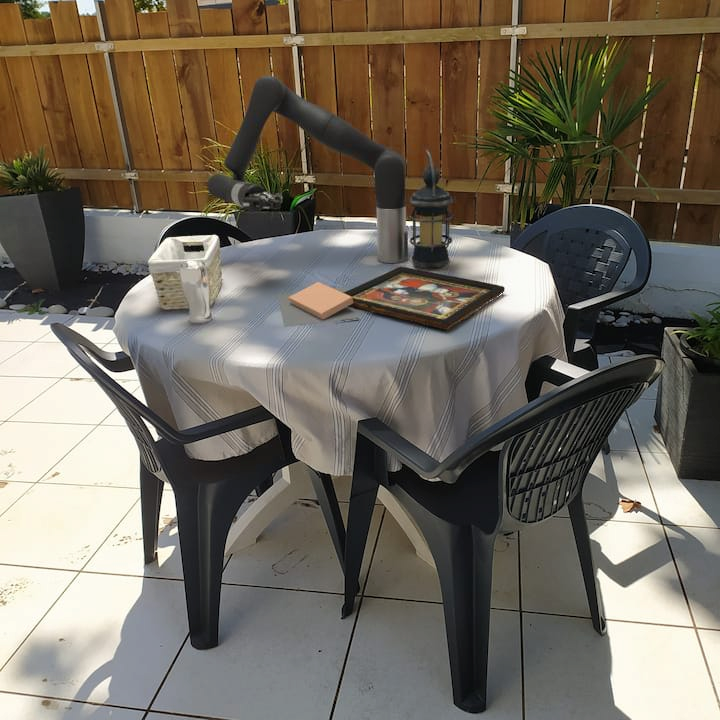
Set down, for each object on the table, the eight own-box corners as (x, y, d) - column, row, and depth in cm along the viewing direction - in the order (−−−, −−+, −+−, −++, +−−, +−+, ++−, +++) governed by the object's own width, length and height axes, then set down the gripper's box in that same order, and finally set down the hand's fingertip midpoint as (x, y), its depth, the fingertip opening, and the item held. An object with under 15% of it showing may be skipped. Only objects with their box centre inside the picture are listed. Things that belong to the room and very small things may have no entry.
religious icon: (509, 288, 183) (510, 279, 182) (460, 335, 156) (461, 324, 155) (389, 271, 201) (389, 262, 200) (327, 310, 174) (326, 300, 173)
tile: (288, 297, 177) (321, 313, 166) (318, 281, 182) (352, 296, 170) (290, 303, 178) (322, 320, 167) (319, 288, 183) (353, 303, 171)
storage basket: (214, 310, 178) (206, 257, 172) (154, 313, 178) (144, 260, 172) (226, 281, 200) (220, 233, 193) (173, 283, 199) (165, 236, 193)
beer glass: (217, 314, 175) (209, 260, 168) (209, 324, 169) (201, 268, 162) (192, 314, 176) (183, 260, 169) (183, 324, 170) (174, 269, 163)
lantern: (454, 272, 198) (457, 152, 183) (410, 273, 199) (409, 154, 183) (449, 257, 211) (451, 145, 196) (408, 259, 212) (407, 146, 196)
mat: (343, 289, 189) (343, 287, 188) (358, 320, 167) (358, 318, 167) (277, 296, 186) (277, 294, 185) (284, 328, 164) (284, 326, 164)
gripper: (226, 186, 186) (254, 195, 173) (267, 179, 193) (297, 187, 180) (230, 213, 189) (258, 223, 177) (270, 205, 196) (300, 214, 183)
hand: (278, 205), depth 178 cm, fingers closed
